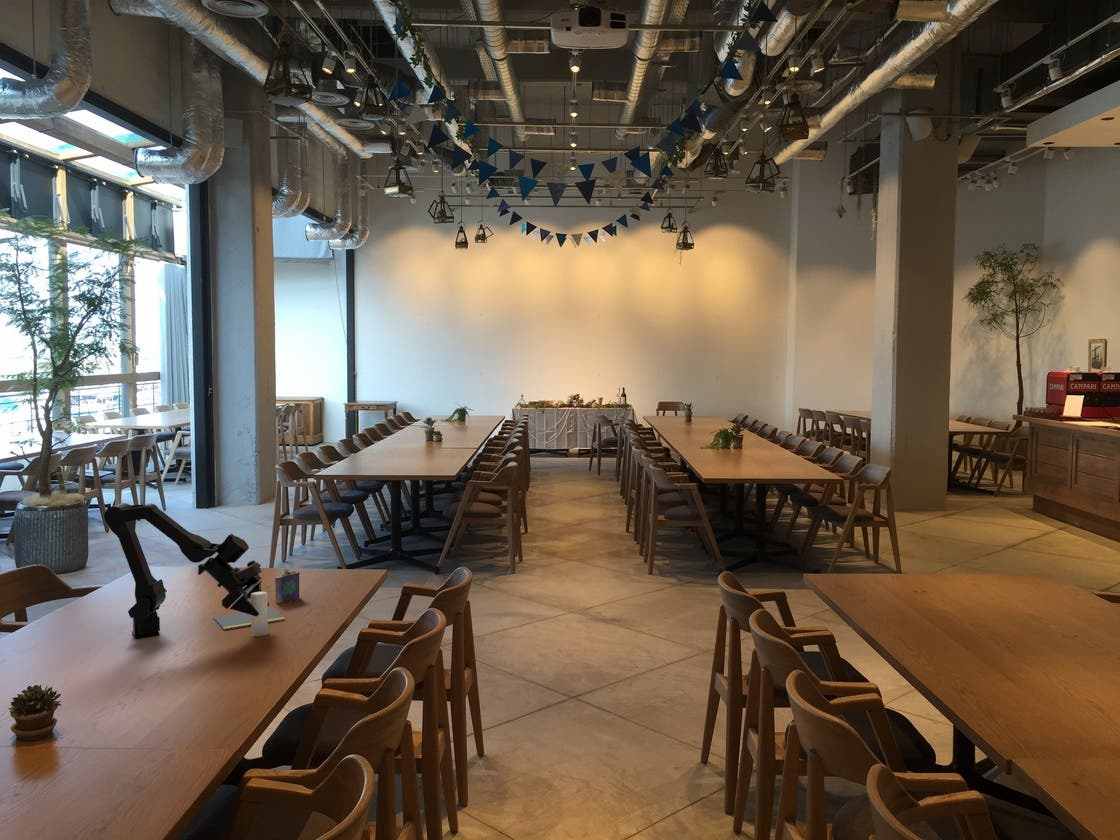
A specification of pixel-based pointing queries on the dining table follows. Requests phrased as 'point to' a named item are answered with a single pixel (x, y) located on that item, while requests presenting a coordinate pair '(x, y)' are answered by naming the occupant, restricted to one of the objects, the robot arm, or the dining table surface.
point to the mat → (244, 619)
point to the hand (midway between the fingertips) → (263, 610)
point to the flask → (287, 587)
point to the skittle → (261, 621)
